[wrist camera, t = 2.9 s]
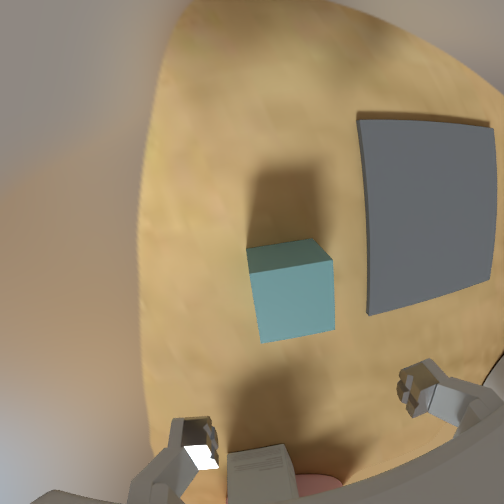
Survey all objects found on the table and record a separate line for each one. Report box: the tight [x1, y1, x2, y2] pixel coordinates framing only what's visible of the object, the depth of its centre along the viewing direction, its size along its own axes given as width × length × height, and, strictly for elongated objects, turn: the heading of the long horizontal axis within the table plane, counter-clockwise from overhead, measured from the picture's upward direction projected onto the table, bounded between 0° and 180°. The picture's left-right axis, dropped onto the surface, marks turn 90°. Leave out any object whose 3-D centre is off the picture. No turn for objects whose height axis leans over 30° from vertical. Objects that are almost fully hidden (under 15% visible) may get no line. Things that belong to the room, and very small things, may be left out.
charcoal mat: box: [356, 120, 497, 316], centre depth 21 cm, size 16×16×1 cm
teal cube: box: [246, 238, 335, 343], centre depth 20 cm, size 5×5×5 cm
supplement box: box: [227, 444, 299, 504], centre depth 24 cm, size 7×7×13 cm
